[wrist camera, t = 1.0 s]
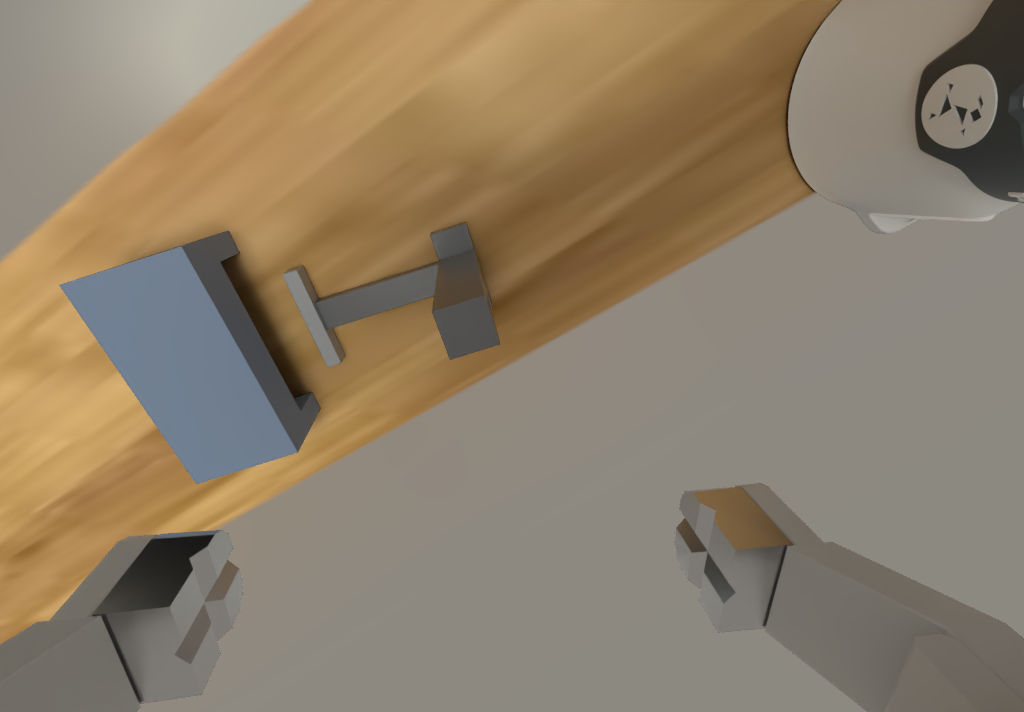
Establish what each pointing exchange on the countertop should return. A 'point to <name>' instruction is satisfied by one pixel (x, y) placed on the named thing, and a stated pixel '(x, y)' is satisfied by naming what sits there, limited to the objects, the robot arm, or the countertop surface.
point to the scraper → (409, 299)
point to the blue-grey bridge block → (194, 358)
